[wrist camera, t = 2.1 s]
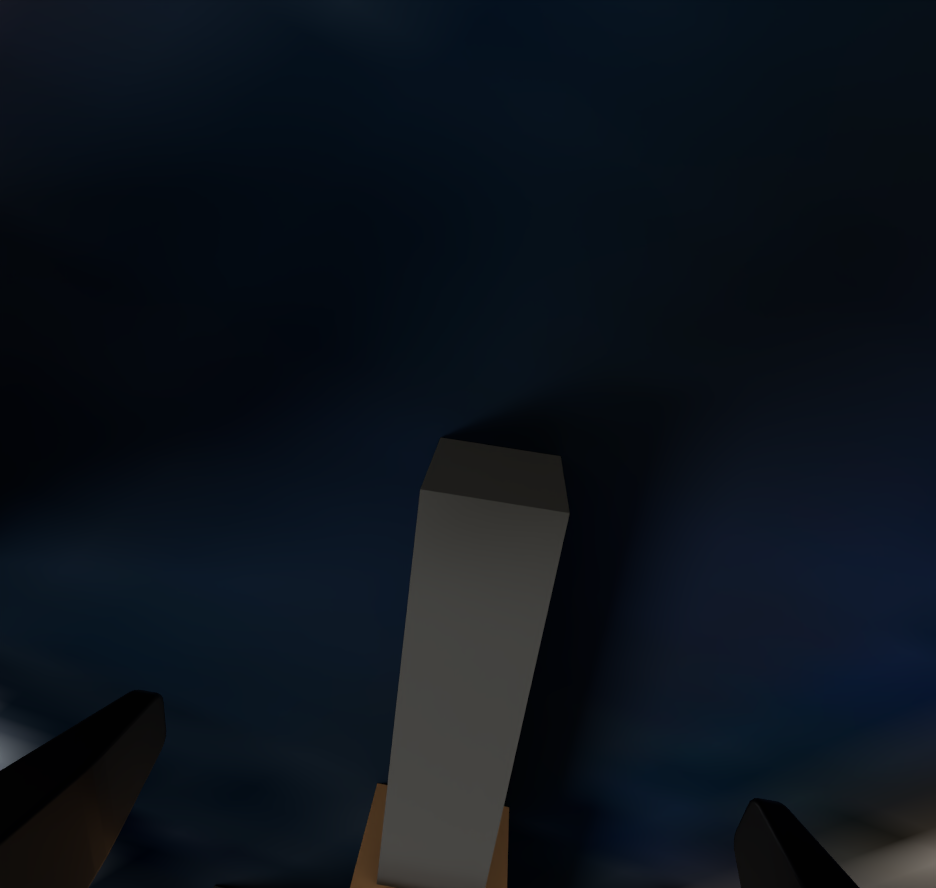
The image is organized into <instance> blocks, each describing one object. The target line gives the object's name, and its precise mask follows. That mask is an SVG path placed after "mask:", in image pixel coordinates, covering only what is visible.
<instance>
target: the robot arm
mask: <svg viewBox="0 0 936 888" xmlns="http://www.w3.org/2000/svg"><path fill="white" fill-rule="evenodd" d="M165 737H166V724H165V713H164V702H163V698H162V696H161V695H160V694H158V693H155V692H149V691H143V690H134V691H131V692H129V693H127V694H125V695H124V696H122V697H120V698H119V699H117V700H116V701H114V702H112V703H111V704H109V705H107V706H106V707H104V708H102V709H101V710H99V711H98V712H96V713H94V714H93V715H91V716H89V717H88V718H86V719H84V720H83V721H81V722H79V723H78V724H76V725H75V726H73V727H71V728H70V729H68V730H66V731H65V732H63V733H61V734H60V735H58V736H57V737H55V738H53V739H52V740H50V741H48V742H47V743H45V744H43V745H42V746H40V747H39V748H37V749H35V750H34V751H32V752H30V753H29V754H27V755H25V756H24V757H22V758H21V759H19V760H17V761H16V762H14V763H12V764H11V765H9V766H7V767H6V768H4V769H2V770H1V771H0V888H88V887H89V886H90V884H91V882H92V881H93V879H94V877H95V876H96V874H97V873H98V871H99V869H100V867H101V866H102V864H103V862H104V861H105V859H106V857H107V856H108V854H109V852H110V850H111V848H112V846H113V844H114V842H115V840H116V839H117V837H118V835H119V833H120V831H121V829H122V827H123V825H124V823H125V821H126V819H127V817H128V815H129V813H130V811H131V809H132V807H133V805H134V803H135V801H136V799H137V797H138V795H139V793H140V791H141V789H142V787H143V785H144V783H145V781H146V779H147V777H148V775H149V773H150V771H151V769H152V767H153V765H154V763H155V761H156V759H157V757H158V755H159V753H160V751H161V749H162V747H163V744H164V741H165ZM734 851H735V857H736V862H737V868H738V873H739V878H740V884H741V888H859V887H858V886H857V885H856V883H855V882H854V881H853V880H852V879H851V878H850V877H849V876H848V875H847V873H846V872H845V871H844V870H843V869H842V868H841V867H840V866H839V865H838V864H837V862H836V861H835V860H834V859H833V858H832V857H831V856H830V855H829V854H828V852H827V851H826V850H825V849H824V848H823V847H822V846H821V845H820V844H819V842H818V841H817V840H816V839H815V838H814V837H813V836H812V835H811V834H810V832H809V831H808V830H807V829H806V828H805V827H804V826H803V825H802V824H801V822H800V821H799V820H798V819H797V818H796V817H795V816H794V815H793V814H792V812H791V811H790V810H789V809H788V808H787V807H786V806H784V805H783V804H782V803H780V802H776V801H771V800H765V799H760V798H754V799H753V800H751V801H750V802H749V804H748V806H747V808H746V810H745V813H744V815H743V817H742V819H741V821H740V823H739V826H738V828H737V830H736V833H735V837H734Z"/></svg>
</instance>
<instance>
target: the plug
mask: <svg viewBox="0 0 936 888" xmlns="http://www.w3.org/2000/svg"><path fill="white" fill-rule="evenodd" d="M569 514H570V512H569V506H568V499H567V493H566V487H565V480H564V474H563V468H562V462H561V456H556V455H549V454H543V453H537V452H530V451H524V450H517V449H511V448H505V447H498V446H492V445H486V444H479V443H473V442H466V441H460V440H454V439H447V438H440V440H439V443H438V445H437V448H436V451H435V453H434V456H433V458H432V461H431V463H430V466H429V469H428V471H427V474H426V476H425V479H424V481H423V484H422V486H421V489H420V497H419V506H418V515H417V524H416V533H415V542H414V551H413V560H412V569H411V578H410V587H409V596H408V605H407V614H406V623H405V632H404V641H403V650H402V659H401V668H400V677H399V686H398V695H397V704H396V713H395V722H394V731H393V740H392V749H391V758H390V767H389V776H388V785H384V784H378V783H377V787H376V791H375V794H374V798H373V802H372V806H371V810H370V813H369V817H368V821H367V825H366V829H365V833H364V836H363V840H362V844H361V848H360V852H359V855H358V859H357V863H356V867H355V871H354V875H353V878H352V882H351V886H350V888H507V870H508V830H509V807H505V806H504V803H505V798H506V794H507V790H508V785H509V781H510V776H511V772H512V767H513V763H514V758H515V754H516V750H517V745H518V741H519V736H520V732H521V727H522V723H523V719H524V714H525V710H526V705H527V701H528V696H529V692H530V687H531V683H532V679H533V674H534V670H535V665H536V661H537V656H538V652H539V647H540V643H541V639H542V634H543V630H544V625H545V621H546V616H547V612H548V607H549V603H550V599H551V594H552V590H553V585H554V581H555V576H556V572H557V567H558V563H559V559H560V554H561V550H562V545H563V541H564V536H565V532H566V528H567V523H568V519H569Z"/></svg>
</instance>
